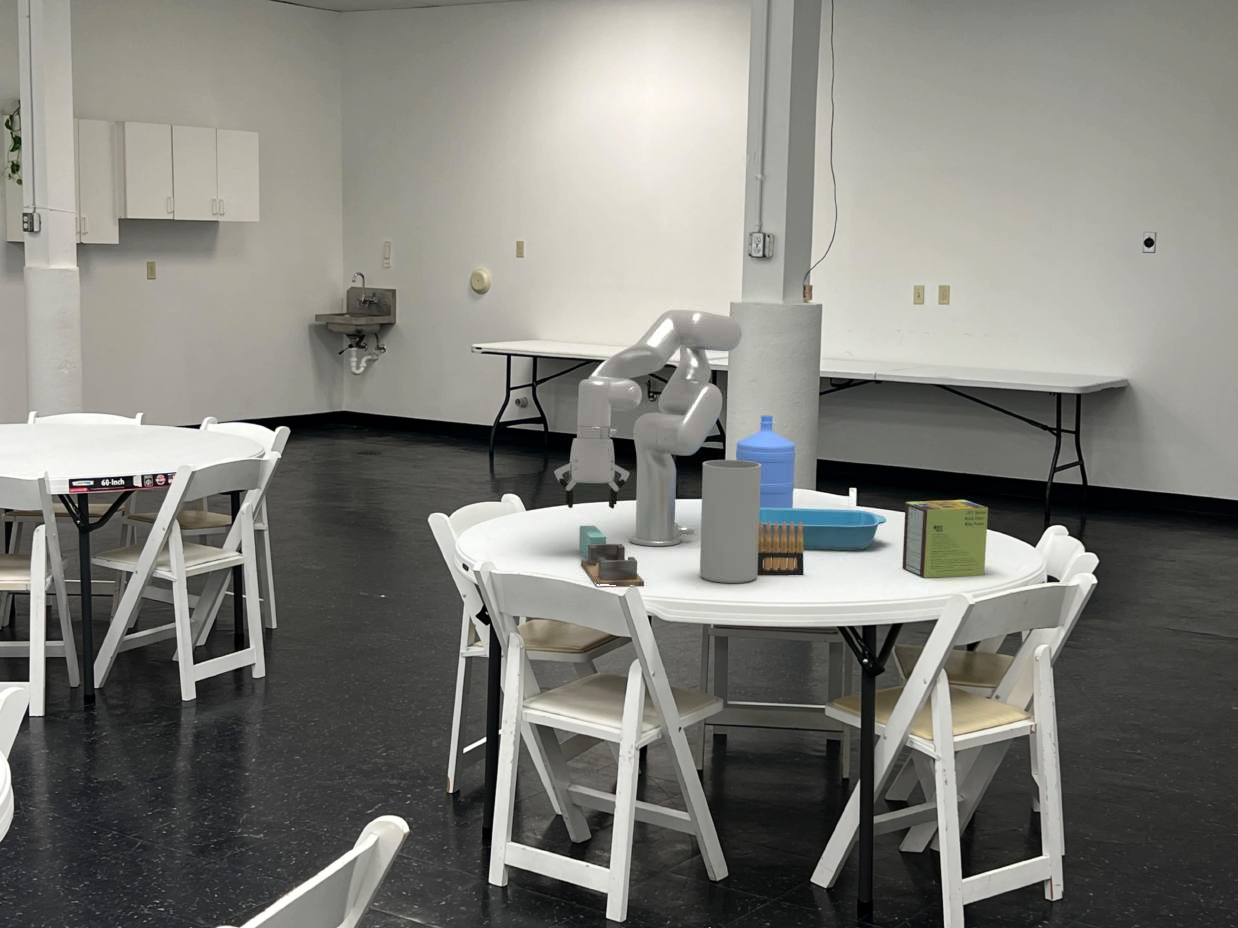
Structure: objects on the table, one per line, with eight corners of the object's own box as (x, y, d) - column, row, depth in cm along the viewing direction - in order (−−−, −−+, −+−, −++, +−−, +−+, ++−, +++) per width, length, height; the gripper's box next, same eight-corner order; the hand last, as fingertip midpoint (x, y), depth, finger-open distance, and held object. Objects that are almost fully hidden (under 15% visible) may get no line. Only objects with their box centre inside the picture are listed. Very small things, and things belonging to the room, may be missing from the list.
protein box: (985, 575, 312) (989, 507, 310) (923, 578, 308) (927, 509, 305) (961, 565, 322) (964, 499, 320) (900, 568, 317) (904, 501, 315)
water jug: (804, 522, 372) (808, 417, 368) (759, 527, 363) (763, 420, 359) (766, 513, 385) (770, 411, 381) (722, 518, 376) (725, 414, 372)
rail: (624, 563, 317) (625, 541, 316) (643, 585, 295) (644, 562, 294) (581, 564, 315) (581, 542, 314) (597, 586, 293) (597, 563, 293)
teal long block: (594, 550, 331) (594, 525, 331) (605, 562, 318) (606, 537, 317) (579, 550, 331) (579, 525, 330) (590, 563, 317) (590, 537, 316)
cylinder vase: (724, 568, 313) (728, 458, 310) (768, 578, 305) (772, 464, 301) (687, 576, 304) (690, 463, 301) (732, 586, 296) (736, 470, 292)
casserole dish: (733, 549, 336) (734, 520, 335) (734, 532, 358) (735, 504, 357) (888, 555, 332) (890, 526, 331) (880, 537, 354) (882, 509, 353)
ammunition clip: (755, 575, 308) (757, 521, 306) (754, 573, 309) (755, 520, 308) (803, 575, 308) (805, 522, 306) (801, 573, 310) (804, 520, 308)
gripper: (627, 432, 325) (624, 505, 327) (553, 431, 322) (551, 504, 324) (633, 436, 318) (630, 510, 320) (558, 434, 315) (555, 509, 317)
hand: (590, 507), depth 322 cm, fingers open, 9 cm apart
